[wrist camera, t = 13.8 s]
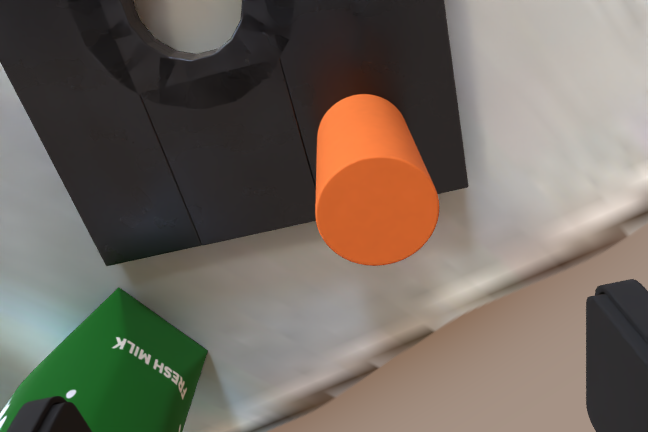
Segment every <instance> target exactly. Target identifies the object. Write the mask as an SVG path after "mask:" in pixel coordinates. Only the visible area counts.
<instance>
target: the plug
mask: <svg viewBox="0 0 648 432" xmlns="http://www.w3.org/2000/svg"><path fill="white" fill-rule="evenodd" d="M315 216H316V223H317V227H318V230H319V233H320V235H321V236H322V238H323V240H324V241H325V242H326V244H327V245H328V246H329V247H330V248H331V249H332V250H333V251H334V252H335V253H337V254H338V255H340V256H341V257H343V258H345V259H347V260H349V261H351V262H355V263H358V264H363V265H372V266H376V265H386V264H391V263H395V262H398V261H400V260H403V259H405V258H407V257H409V256H411V255H412V254H414V253H415V252H416V251H418V250H419V249H420V248H421V247H422V246H423V245H424V244H425V243H426V242H427V241H428V239H429V238H430V236H431V235H432V233H433V231H434V229H435V227H436V224H437V221H438V216H439V199H438V195H437V191H436V189H435V187H434V184H433V182H432V180H431V178H430V175H429V173H428V171H427V169H426V166H425V164H424V162H423V160H422V158H421V155H420V153H419V151H418V149H417V146H416V144H415V142H414V140H413V137H412V135H411V133H410V131H409V129H408V126H407V124H406V122H405V120H404V118H403V116H402V114H401V112H400V111H399V110H398V109H397V108H396V107H395V106H394V105H393V104H392V103H390V102H389V101H388V100H386V99H384V98H381V97H379V96H375V95H370V94H358V95H352V96H349V97H346V98H344V99H342V100H340V101H339V102H337V103H336V104H334V105H333V106H332V107H331V108H330V109H329V110H328V111H327V112H326V114H325V115H324V117H323V118H322V120H321V123H320V125H319V129H318V134H317V164H316V202H315Z"/></svg>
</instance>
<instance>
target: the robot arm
mask: <svg viewBox="0 0 648 432" xmlns="http://www.w3.org/2000/svg"><path fill="white" fill-rule="evenodd" d="M586 405H587V411H588V415H589V418H590V420H591V423H592V425H593V427H594V429H595V430H596V432H648V291H647V290H646V289H645V288H644V287H643V286H642V285H641V284H640V283H639V282H638V281H636V280H634V279H630V280H626V281H620V282H615V283H611V284H605V285H601V286H598V287H597V289H596V293H595V296H590V297H588V298H587V302H586ZM6 432H92V431H91V429H90V428H89V426H88V424H87V423H86V421H85V420H84V418H83V417H82V415H81V414H80V412H79V411H78V409H77V407H76V406H75V405H74V404H73V403H71V402H67V401H66V400H65V399H64V398H63V397H61V396H54V397H49V398H44V399H39V400H34V401H29V402H27V403H25V404H24V405H23V406H22V407H21V408H20V410H19V411H18V413H17V415H16V416H15V418H14V420H13V421H12V423H11V425H10V426H9V428H8V430H7V431H6Z"/></svg>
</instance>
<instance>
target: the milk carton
mask: <svg viewBox="0 0 648 432" xmlns="http://www.w3.org/2000/svg"><path fill="white" fill-rule="evenodd" d="M207 352H208V350H206V349H205V348H203V347H202V346H200V345H199V344H198V343H196V342H195V341H193V340H192V339H191V338H189V337H188V336H186V335H185V334H184V333H182V332H181V331H179V330H178V329H177V328H175V327H174V326H172V325H171V324H170V323H168V322H167V321H165V320H164V319H163V318H161V317H160V316H158V315H157V314H156V313H154V312H153V311H151V310H150V309H149V308H147V307H146V306H144V305H143V304H142V303H140V302H139V301H137V300H136V299H135V298H133V297H132V296H130V295H129V294H128V293H126V292H125V291H123V290H122V289H121V288H117V289H116V290H115V291H114V292H113V293H112V294H111V295H110V296H109V297H108V298H107V299H106V300H105V301H104V302H103V303H102V304H101V305H100V306H99V307H98V308H97V309H96V310H95V311H94V312H93V313H92V314H91V315H90V316H89V317H88V318H87V319H85V320H84V321H83V322H82V323H81V324H80V325H79V326H78V327H77V328H76V329H75V330H74V331H73V332H72V333H71V334H70V335H69V336H68V337H67V338H66V339H65V340H64V341H63V342H62V343H61V344H60V345H59V346H58V347H57V348H56V349H55V350H54V351H52V352H51V353H50V354H49V355H48V356H47V357H46V358H45V359H44V360H43V361H42V362H41V363H40V364H39V365H38V366H37V367H36V368H35V369H34V370H33V371H32V372H31V373H30V375H29V376H28V377H27V378H26V379H25V380H24V381H23V382H22V383H21V384H20V386H19V387H18V388H17V390H16V391H15V392H14V394H13V395H12V397H11V398H10V400H9V401H8V402H7V404H6V405H5V407H4V408H3V410H2V411H1V413H0V432H6V431H7V430H8V428H9V426H10V425H11V423H12V421H13V420H14V418H15V416H16V415H17V413H18V411H19V410H20V408H21V407H22V406H23V405H24V404H25V403H27V402H29V401H34V400H39V399H44V398H49V397H54V396H61V397H63V398H64V399H65V400H66V401H67V402H71V403H73V404H74V405H75V406H76V407H77V409H78V411H79V412H80V414H81V415H82V417H83V418H84V420H85V421H86V423H87V424H88V426H89V428H90V429H91V431H92V432H182V431H183V427H184V424H185V421H186V418H187V415H188V412H189V409H190V405H191V402H192V399H193V396H194V393H195V389H196V386H197V383H198V380H199V377H200V374H201V371H202V368H203V364H204V361H205V358H206V355H207Z"/></svg>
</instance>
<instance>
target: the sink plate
mask: <svg viewBox="0 0 648 432" xmlns="http://www.w3.org/2000/svg"><path fill="white" fill-rule="evenodd" d="M0 62H1V64H2V66H3V68H4V70H5V72H6V74H7V76H8V78H9V80H10V82H11V83H12V85H13V87H14V89H15V91H16V93H17V95H18V97H19V99H20V101H21V103H22V105H23V107H24V108H25V110H26V112H27V114H28V116H29V118H30V120H31V122H32V124H33V126H34V128H35V130H36V132H37V133H38V135H39V137H40V139H41V141H42V143H43V145H44V147H45V149H46V151H47V153H48V155H49V157H50V159H51V160H52V162H53V164H54V166H55V168H56V170H57V172H58V174H59V176H60V178H61V180H62V182H63V184H64V185H65V187H66V189H67V191H68V193H69V195H70V197H71V199H72V201H73V203H74V205H75V207H76V209H77V210H78V212H79V214H80V216H81V218H82V220H83V222H84V224H85V226H86V228H87V230H88V232H89V234H90V235H91V237H92V239H93V241H94V243H95V245H96V247H97V249H98V251H99V253H100V255H101V257H102V259H103V260H104V262H105V264H106V266H110V265H114V264H119V263H123V262H128V261H132V260H137V259H142V258H146V257H151V256H155V255H160V254H164V253H169V252H174V251H178V250H183V249H187V248H192V247H196V246H201V245H207V244H211V243H216V242H221V241H225V240H230V239H234V238H239V237H244V236H248V235H253V234H257V233H262V232H266V231H271V230H276V229H280V228H285V227H289V226H294V225H298V224H303V223H308V222H312V221H316V216H315V202H316V164H317V134H318V129H319V125H320V123H321V120H322V118H323V117H324V115H325V114H326V112H327V111H328V110H329V109H330V108H331V107H332V106H333V105H334V104H336V103H337V102H339V101H340V100H342V99H344V98H346V97H349V96H352V95H358V94H370V95H375V96H379V97H381V98H384V99H386V100H388V101H389V102H390V103H392V104H393V105H394V106H395V107H396V108H397V109H398V110H399V111H400V112H401V114H402V116H403V118H404V120H405V122H406V124H407V126H408V129H409V131H410V133H411V135H412V137H413V140H414V142H415V144H416V146H417V149H418V151H419V153H420V155H421V158H422V160H423V162H424V164H425V166H426V169H427V171H428V173H429V175H430V178H431V180H432V182H433V184H434V187H435V189H436V191H437V194H440V193H444V192H449V191H453V190H458V189H462V188H467V187H468V179H467V172H466V164H465V157H464V149H463V141H462V134H461V126H460V118H459V111H458V103H457V95H456V88H455V80H454V73H453V65H452V57H451V50H450V42H449V34H448V27H447V19H446V12H445V4H444V0H242V11H241V20H240V22H239V24H238V26H237V28H236V30H235V32H234V34H233V36H232V38H231V39H230V40H228V41H227V42H226V43H225V44H223V45H222V46H221V47H220V48H219V49H215V50H211V51H208V52H204V53H200V54H193V53H187V52H180V51H176V50H174V49H172V48H170V47H169V46H167V45H165V44H164V43H162V42H160V41H158V40H157V39H155V38H154V37H153V36H152V34H151V33H150V32H149V31H148V30H147V29H146V27H145V26H144V25H143V24H142V23H141V21H140V19H139V17H138V14H137V12H136V9H135V6H134V4H133V1H132V0H0Z"/></svg>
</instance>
